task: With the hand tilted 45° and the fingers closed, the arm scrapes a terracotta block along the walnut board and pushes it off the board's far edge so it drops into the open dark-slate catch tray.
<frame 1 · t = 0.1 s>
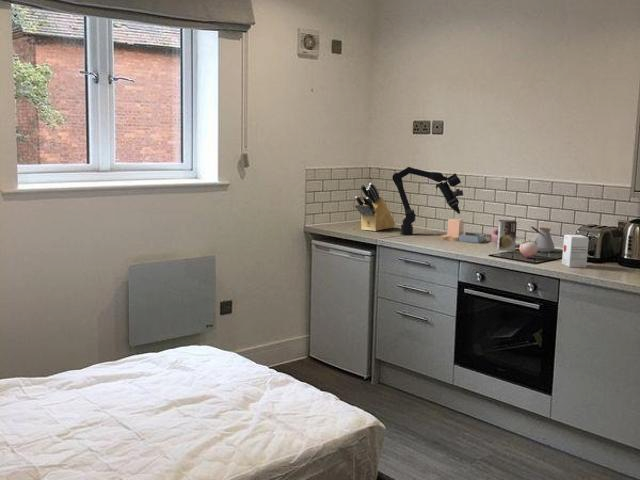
hand: (458, 212, 438), 15 cm above the worktop, tool tilted 35°, fingers open, 9 cm apart
supplement box: (573, 266, 352), on the worktop
coffee box: (505, 249, 398), on the worktop
slate tray: (472, 241, 425), on the worktop
coffee pot: (538, 252, 391), on the worktop
mortar and pestle: (501, 245, 411), on the worktop
knife block: (374, 230, 461), on the worktop
walnut board: (451, 239, 430), on the worktop
decorative fruit: (528, 258, 370), on the worktop
terracotta block: (454, 236, 429), point 2 cm above the worktop, touching walnut board
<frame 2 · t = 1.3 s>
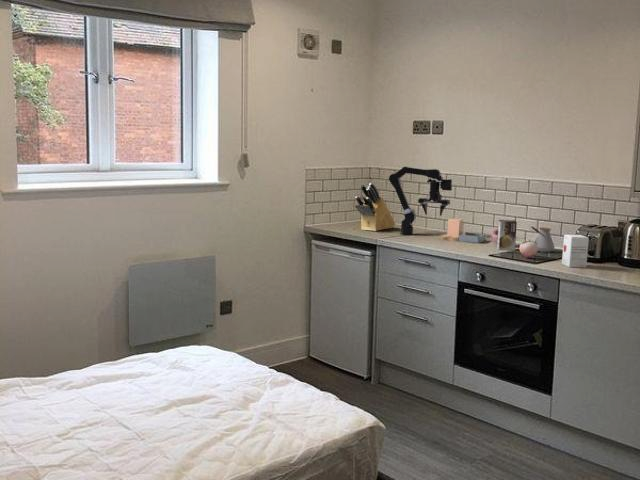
hand: (433, 215, 437), 13 cm above the worktop, tool pointing down, fingers open, 9 cm apart
nothing on the worktop moved.
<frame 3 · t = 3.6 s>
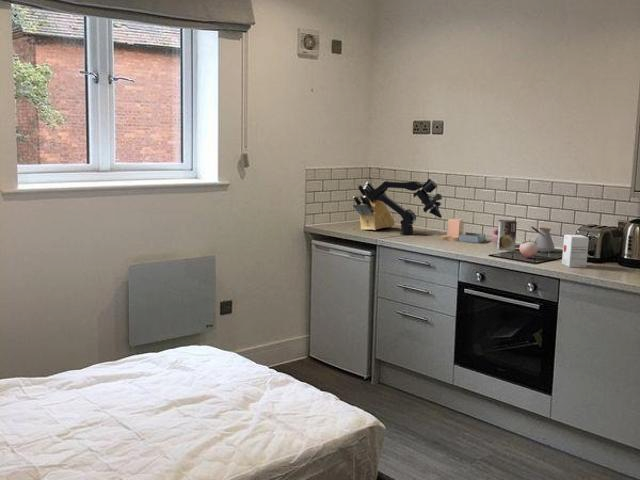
hand: (441, 217, 432), 12 cm above the worktop, tool tilted 45°, fingers closed
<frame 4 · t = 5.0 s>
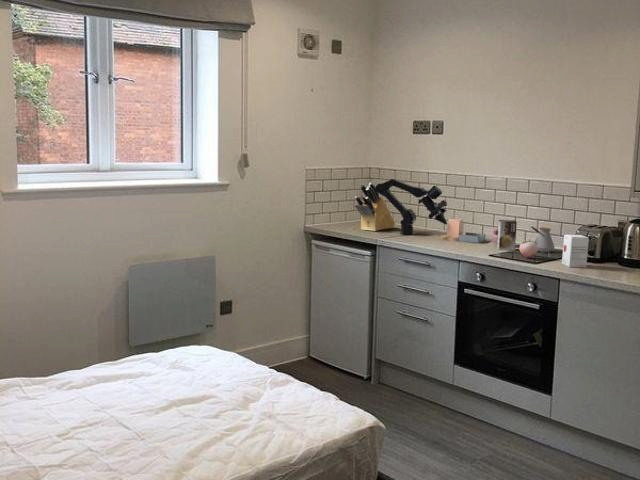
hand: (446, 224, 431), 9 cm above the worktop, tool tilted 45°, fingers closed
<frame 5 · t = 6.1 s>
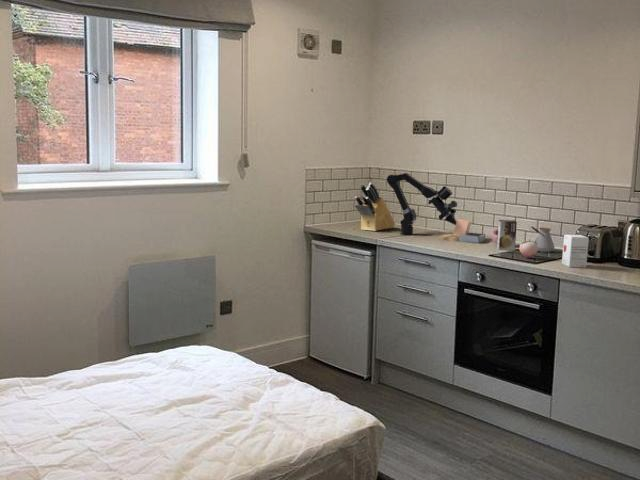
hand: (456, 224, 428), 9 cm above the worktop, tool tilted 45°, fingers closed
terracotta block: (460, 236, 428), point 2 cm above the worktop, tilted 11°, touching walnut board
everything else where it was.
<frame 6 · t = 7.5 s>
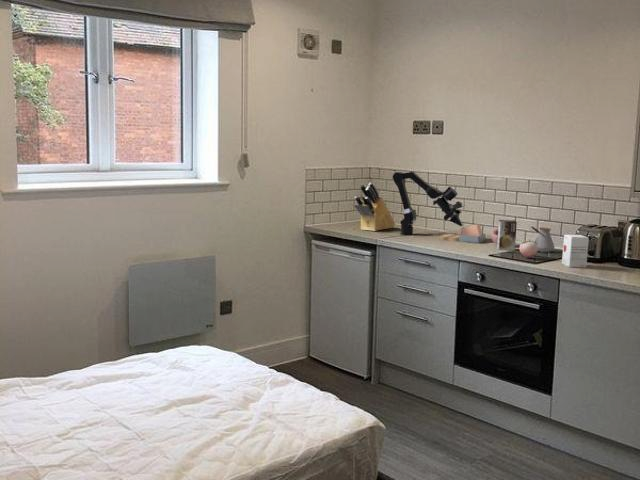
hand: (461, 225, 427), 9 cm above the worktop, tool tilted 45°, fingers closed
terracotta block: (463, 233, 427), point 4 cm above the worktop, tilted 72°, touching slate tray
everything else where it was.
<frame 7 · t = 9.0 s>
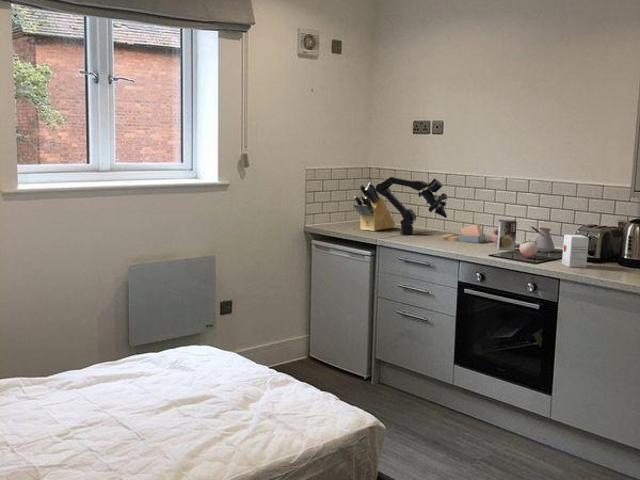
hand: (446, 217, 430), 13 cm above the worktop, tool tilted 45°, fingers closed
nothing on the worktop moved.
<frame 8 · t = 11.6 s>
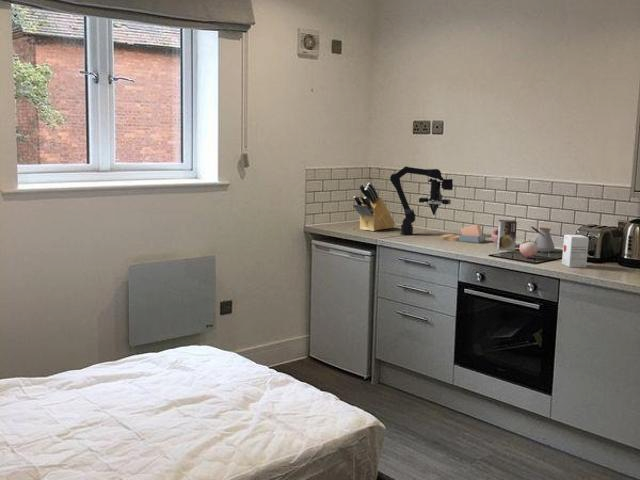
hand: (433, 214, 440), 13 cm above the worktop, tool pointing down, fingers closed
nothing on the worktop moved.
at the end: terracotta block touching slate tray; terracotta block inside the target area on the slate tray (5.4 cm from its centre), point 3.9 cm above the slate tray's base; terracotta block 6.9 cm from the walnut board (horizontally) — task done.
